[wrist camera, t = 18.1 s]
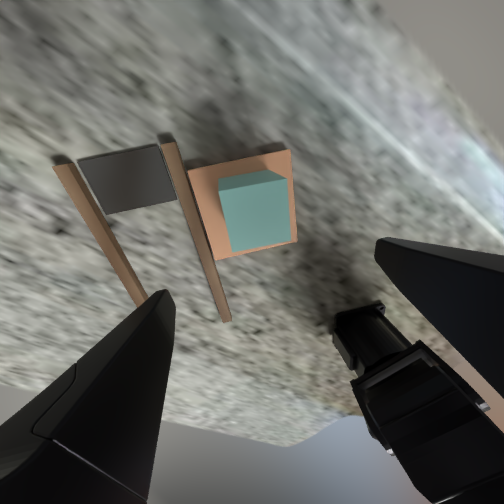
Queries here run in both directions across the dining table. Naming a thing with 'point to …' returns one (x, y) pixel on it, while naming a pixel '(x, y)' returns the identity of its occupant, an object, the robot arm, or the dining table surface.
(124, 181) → the chute
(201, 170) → the tile
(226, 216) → the block
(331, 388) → the dining table surface
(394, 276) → the robot arm
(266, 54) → the dining table surface
